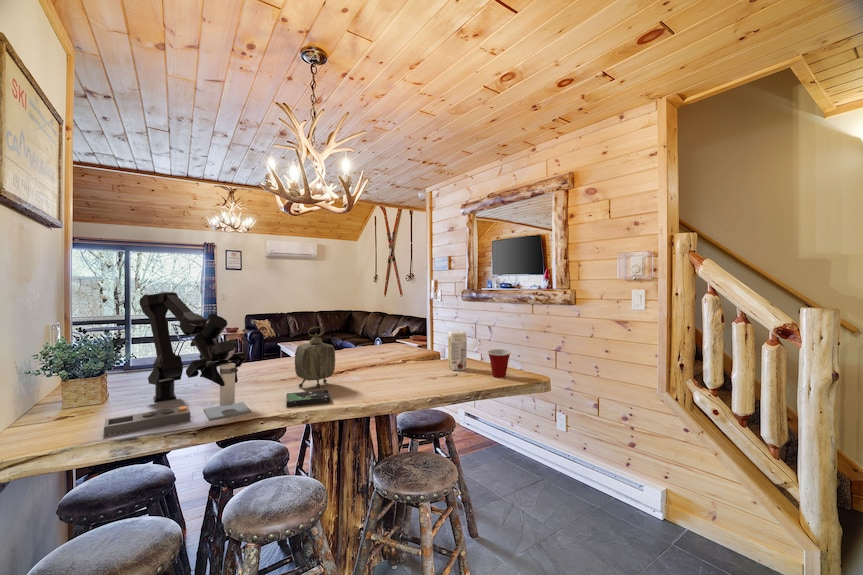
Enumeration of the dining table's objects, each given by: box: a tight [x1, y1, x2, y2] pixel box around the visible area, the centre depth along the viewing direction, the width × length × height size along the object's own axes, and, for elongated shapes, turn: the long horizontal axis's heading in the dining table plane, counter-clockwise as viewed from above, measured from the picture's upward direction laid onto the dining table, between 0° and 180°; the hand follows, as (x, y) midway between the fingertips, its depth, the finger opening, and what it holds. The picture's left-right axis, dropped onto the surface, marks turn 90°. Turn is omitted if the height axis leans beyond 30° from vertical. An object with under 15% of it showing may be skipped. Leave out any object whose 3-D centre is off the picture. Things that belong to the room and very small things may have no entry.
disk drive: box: [285, 389, 331, 408], centre depth 134 cm, size 10×3×15 cm
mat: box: [203, 401, 253, 421], centre depth 123 cm, size 12×12×1 cm
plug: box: [219, 363, 239, 406], centre depth 122 cm, size 7×4×13 cm, turn 66°
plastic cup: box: [487, 348, 512, 379], centre depth 173 cm, size 11×11×12 cm
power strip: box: [103, 405, 191, 436], centre depth 111 cm, size 8×20×3 cm, turn 129°
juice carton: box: [447, 330, 468, 371], centre depth 189 cm, size 8×9×19 cm
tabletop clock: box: [294, 325, 336, 388], centre depth 154 cm, size 14×9×25 cm, turn 133°
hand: (230, 383), depth 122 cm, fingers closed on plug, 4 cm apart
